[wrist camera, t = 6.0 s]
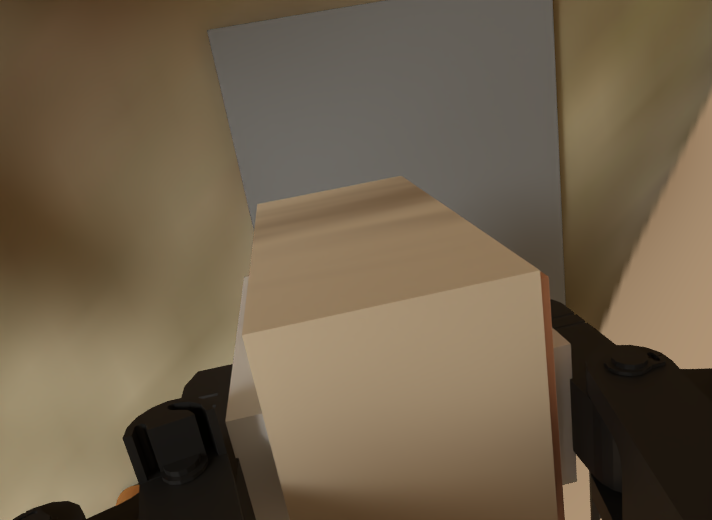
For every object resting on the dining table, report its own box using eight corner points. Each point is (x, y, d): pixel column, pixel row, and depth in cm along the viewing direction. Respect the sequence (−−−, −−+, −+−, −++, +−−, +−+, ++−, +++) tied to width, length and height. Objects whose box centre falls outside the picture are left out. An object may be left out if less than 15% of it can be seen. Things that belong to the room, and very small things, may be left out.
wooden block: (257, 204, 14) (241, 335, 7) (408, 174, 15) (554, 267, 7) (310, 433, 17) (343, 725, 9) (441, 402, 17) (579, 660, 9)
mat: (208, 31, 22) (206, 30, 22) (544, -25, 23) (551, -28, 23) (290, 379, 27) (290, 386, 27) (560, 319, 29) (566, 324, 28)
